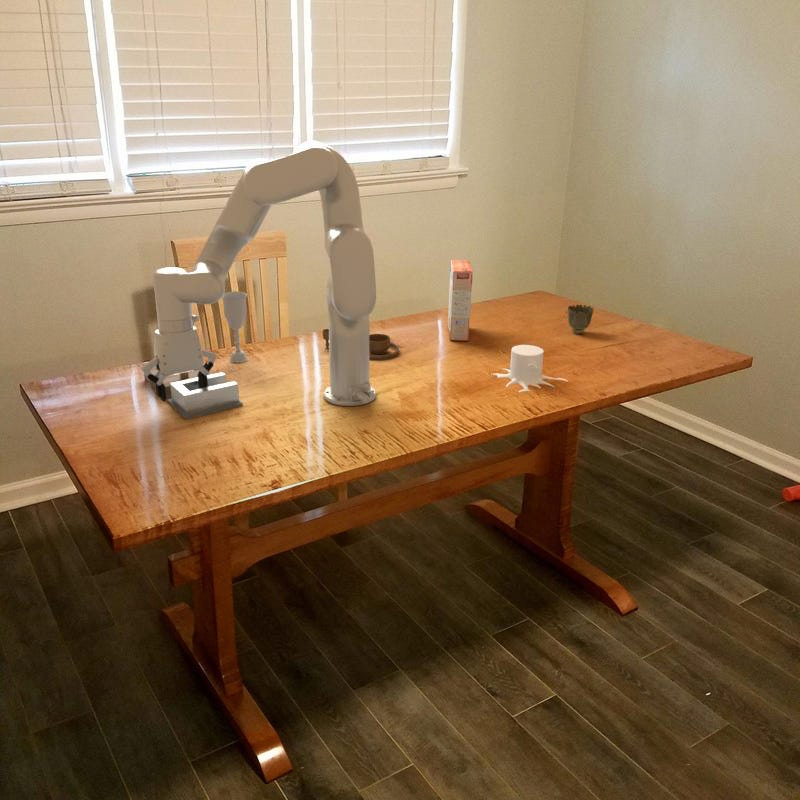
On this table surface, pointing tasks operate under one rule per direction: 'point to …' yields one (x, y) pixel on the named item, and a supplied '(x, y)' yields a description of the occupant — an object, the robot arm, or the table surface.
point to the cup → (579, 317)
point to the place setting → (373, 345)
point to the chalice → (235, 319)
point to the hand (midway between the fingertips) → (183, 394)
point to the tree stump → (526, 367)
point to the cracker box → (459, 300)
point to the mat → (203, 412)
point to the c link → (204, 393)
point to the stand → (172, 379)
